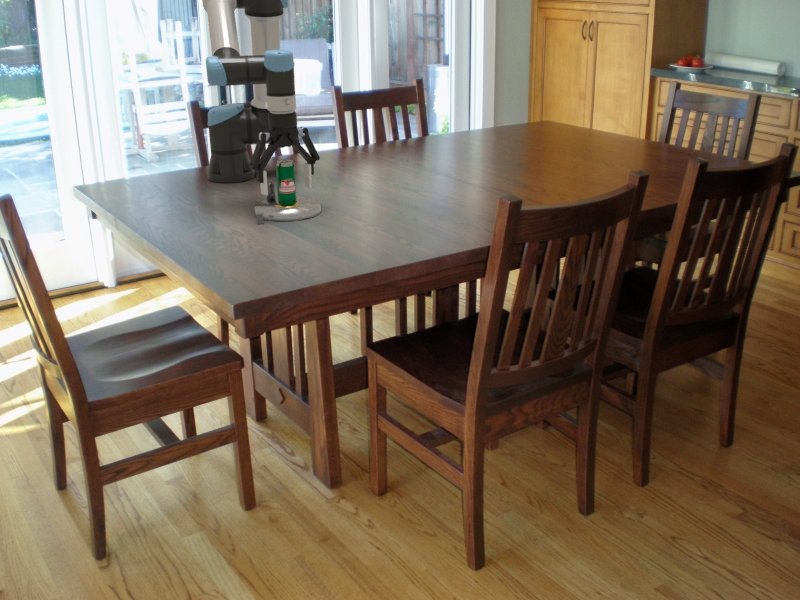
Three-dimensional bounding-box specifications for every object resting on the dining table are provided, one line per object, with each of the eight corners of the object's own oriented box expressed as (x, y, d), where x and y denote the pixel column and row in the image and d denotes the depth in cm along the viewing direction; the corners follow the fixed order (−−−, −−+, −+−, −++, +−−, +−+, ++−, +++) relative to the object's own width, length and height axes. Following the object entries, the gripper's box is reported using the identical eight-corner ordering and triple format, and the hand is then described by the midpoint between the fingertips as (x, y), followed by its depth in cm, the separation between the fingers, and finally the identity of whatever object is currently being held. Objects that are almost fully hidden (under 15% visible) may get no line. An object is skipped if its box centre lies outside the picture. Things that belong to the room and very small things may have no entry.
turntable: (242, 216, 223) (239, 191, 220) (278, 200, 238) (276, 176, 235) (299, 224, 216) (297, 198, 213) (332, 207, 231) (331, 182, 228)
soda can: (279, 207, 223) (276, 163, 219) (277, 202, 228) (274, 159, 223) (298, 205, 224) (295, 162, 220) (295, 201, 229) (292, 158, 224)
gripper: (244, 118, 207) (251, 200, 215) (330, 108, 220) (333, 186, 228) (232, 114, 213) (239, 194, 221) (316, 105, 226) (319, 181, 234)
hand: (286, 190), depth 225 cm, fingers open, 13 cm apart
